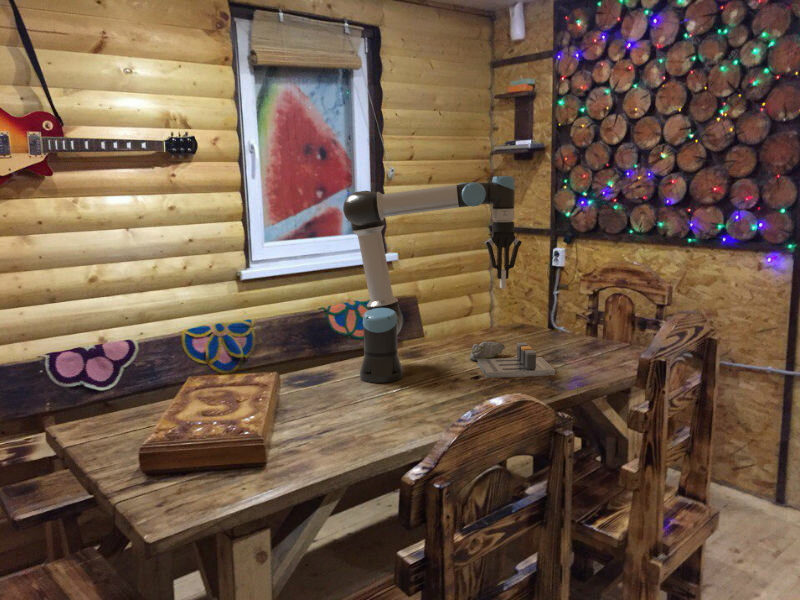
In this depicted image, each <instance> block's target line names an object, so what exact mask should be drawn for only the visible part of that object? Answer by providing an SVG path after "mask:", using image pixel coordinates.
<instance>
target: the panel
mask: <svg viewBox="0 0 800 600" xmlns="http://www.w3.org/2000/svg"><path fill="white" fill-rule="evenodd" d="M477 366H478V368H479V369H480V371H481V372H482V374H483V375H484V377H485V378H486V379H497V378H499V379H500V378H519V377H520V378H521V377H522V378H523V377H524V378H525V377H544V376H545V377H547V376H549V375H552V376H556V369H555V368H554V367H553V366H552V365H551V364H549V363H548V361H546V360H545V359H544V358H543V357H542V356H536V369H527V368H526V367H525V365H523V364H522V363H521V361H519V360H518V359H517V357H509V358H487V359H478V360H477Z"/></svg>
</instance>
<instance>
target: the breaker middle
mask: <svg viewBox="0 0 800 600" xmlns="http://www.w3.org/2000/svg"><path fill="white" fill-rule="evenodd" d="M525 350H533V348H532V347H531V346H530V345H528V346H521V363H522V364H523V365H525Z"/></svg>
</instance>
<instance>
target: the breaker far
mask: <svg viewBox="0 0 800 600" xmlns="http://www.w3.org/2000/svg"><path fill="white" fill-rule="evenodd" d="M516 345H517V346H516V358H517V359H518V360H519V361H521V346H529V345H528V343H527V342H517V343H516Z"/></svg>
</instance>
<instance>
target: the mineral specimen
mask: <svg viewBox="0 0 800 600" xmlns="http://www.w3.org/2000/svg"><path fill="white" fill-rule="evenodd" d="M505 349H506V347H505V344H503V343H501V342H495V341H487V340H485V341H483V342H481V343H479V344H477V343H474V344H473V345H472V348H471V351H470V355H469V359H470V360H472V361H478V359H493V358H494V357H495V358H496V357H497V356H499V354H502V353H503V351H504V350H505Z"/></svg>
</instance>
